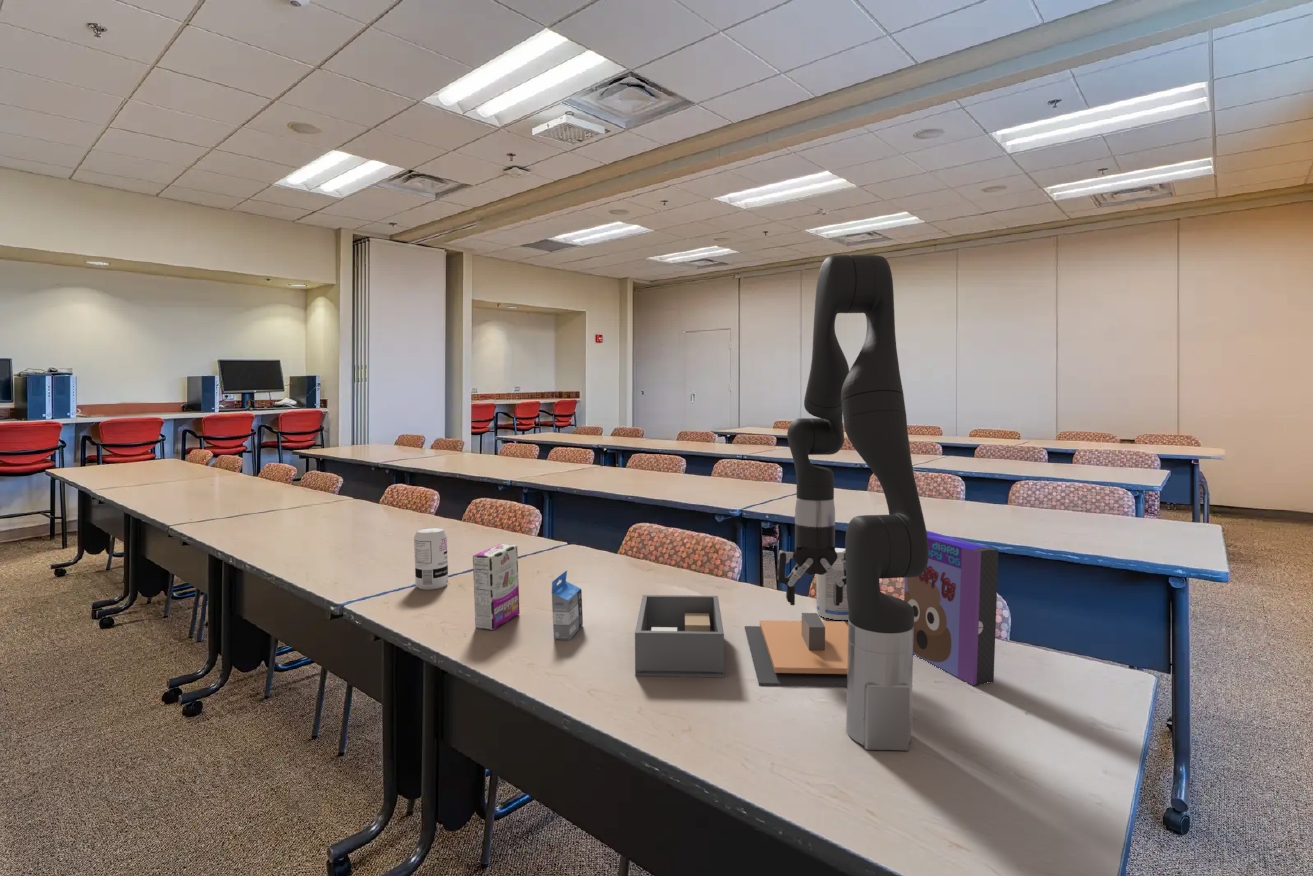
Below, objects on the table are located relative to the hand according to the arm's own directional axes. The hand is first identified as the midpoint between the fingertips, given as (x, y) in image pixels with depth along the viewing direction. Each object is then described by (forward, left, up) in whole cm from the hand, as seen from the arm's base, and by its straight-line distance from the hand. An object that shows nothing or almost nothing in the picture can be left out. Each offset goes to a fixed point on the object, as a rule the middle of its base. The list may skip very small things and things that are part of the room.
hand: (814, 604), depth 128 cm
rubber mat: (0, 0, -10) cm, 10 cm away
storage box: (0, +26, -10) cm, 28 cm away
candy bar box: (+16, +67, -10) cm, 70 cm away
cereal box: (-4, -24, -10) cm, 26 cm away
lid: (0, 0, -9) cm, 9 cm away
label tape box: (+10, +50, -10) cm, 52 cm away
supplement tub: (+23, -10, -10) cm, 27 cm away
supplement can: (+42, +92, -10) cm, 102 cm away
